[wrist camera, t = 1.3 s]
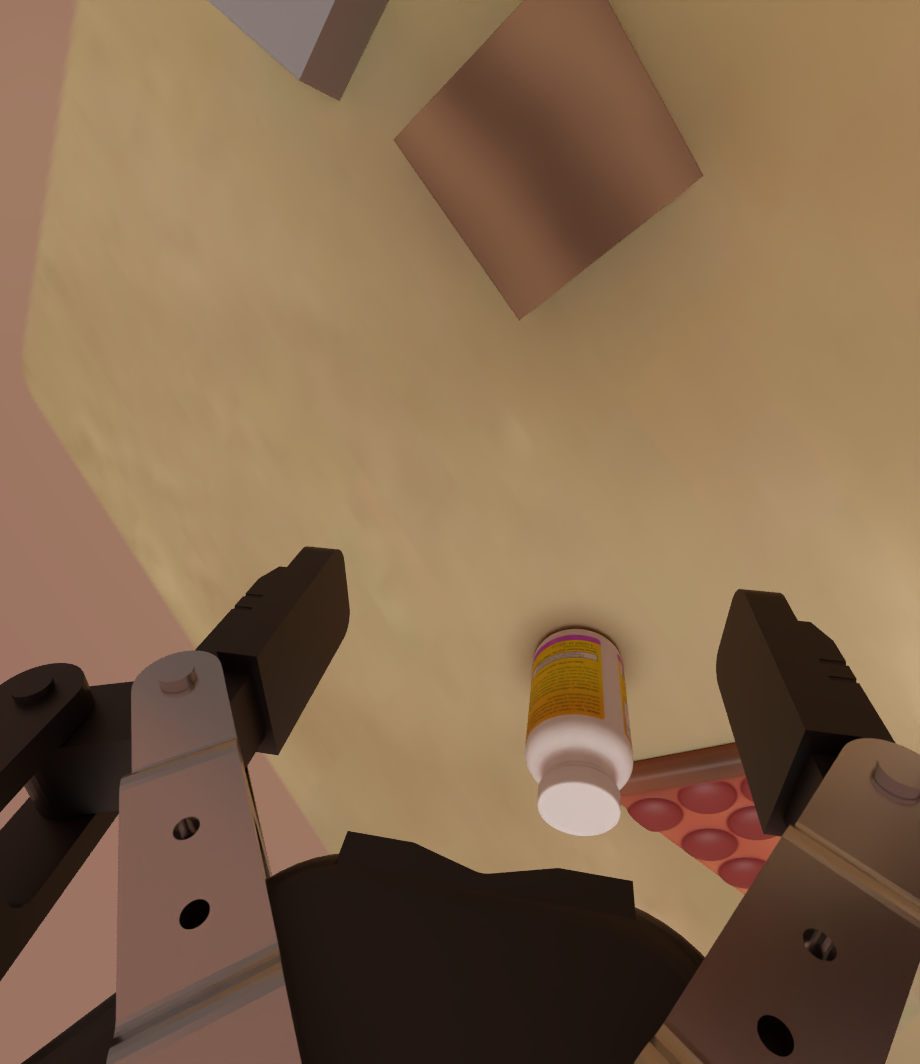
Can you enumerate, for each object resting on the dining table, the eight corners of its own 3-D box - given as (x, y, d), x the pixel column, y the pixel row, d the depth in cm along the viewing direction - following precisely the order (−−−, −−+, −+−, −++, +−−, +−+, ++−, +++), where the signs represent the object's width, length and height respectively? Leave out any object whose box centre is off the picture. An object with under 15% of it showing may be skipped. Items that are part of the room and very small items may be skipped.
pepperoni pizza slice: (825, 742, 41) (878, 905, 48) (814, 719, 43) (867, 879, 50) (581, 786, 48) (660, 924, 55) (581, 764, 50) (657, 900, 57)
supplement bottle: (515, 655, 44) (495, 799, 33) (580, 609, 41) (581, 751, 30) (575, 705, 46) (575, 861, 35) (641, 665, 43) (664, 820, 32)
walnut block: (576, -19, 26) (577, -57, 23) (688, 181, 29) (703, 175, 25) (414, 149, 30) (393, 140, 27) (525, 310, 33) (519, 320, 29)
